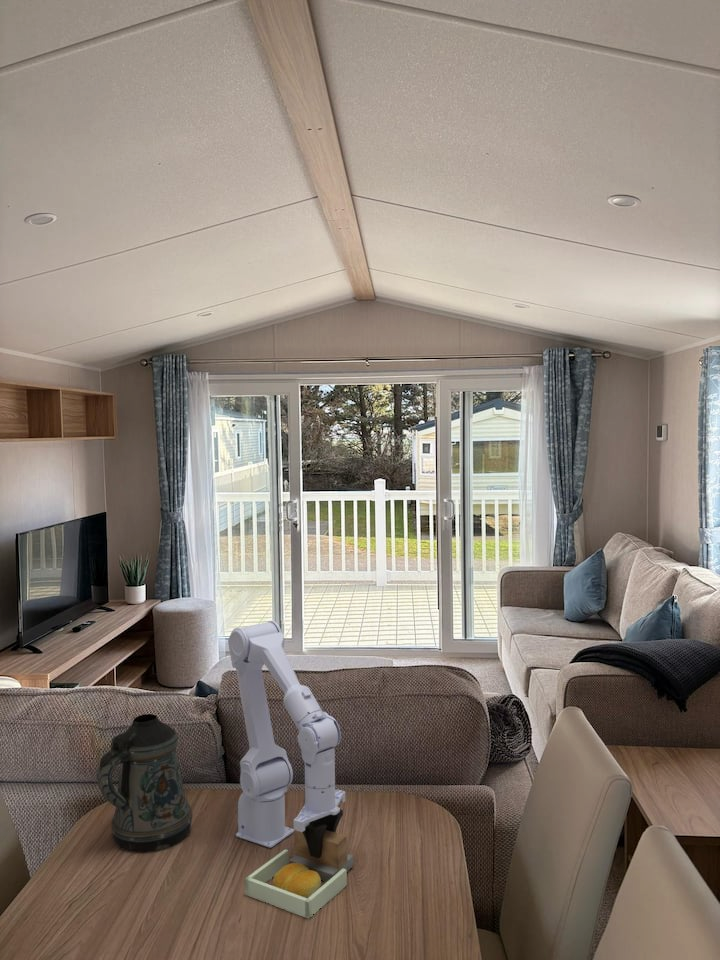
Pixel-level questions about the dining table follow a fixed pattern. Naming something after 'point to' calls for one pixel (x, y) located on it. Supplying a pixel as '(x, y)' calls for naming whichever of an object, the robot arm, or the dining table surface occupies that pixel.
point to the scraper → (324, 855)
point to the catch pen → (286, 899)
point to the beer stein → (146, 787)
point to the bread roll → (297, 880)
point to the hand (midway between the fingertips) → (321, 851)
